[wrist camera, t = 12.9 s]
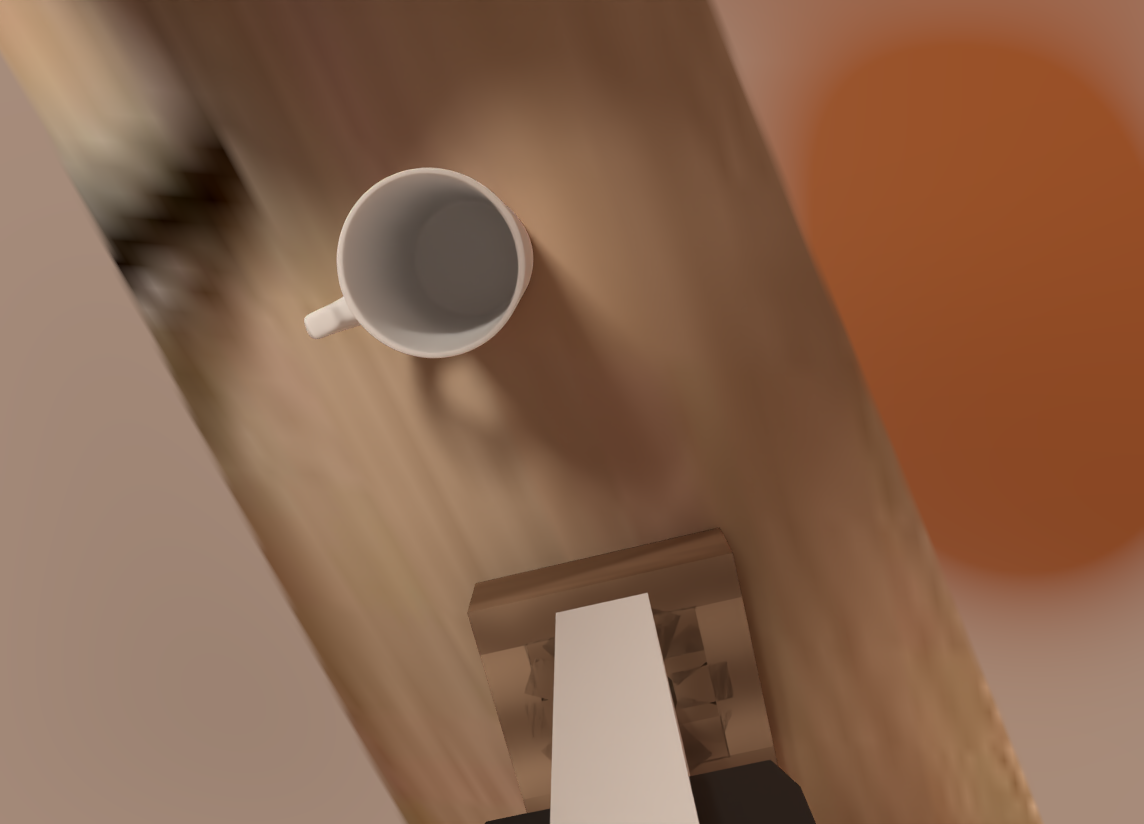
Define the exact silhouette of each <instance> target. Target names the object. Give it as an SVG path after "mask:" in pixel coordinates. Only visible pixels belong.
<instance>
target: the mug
mask: <svg viewBox="0 0 1144 824" xmlns="http://www.w3.org/2000/svg"><path fill="white" fill-rule="evenodd" d="M532 270H533V249H532V244H531V241H530V238H529V235H528V233H527V231H526V229H525V227H524V225H523V224H522V222H521V221H520V219H519V218H518V217H517V215H516V214H515V213H514V212H513V211H512V210H511V209H510V208H509V207H508V206H507V205H505V204H504V203H503V202H502V201H501V200H500V199H499V198H498V197H497V196H496V195H495V194H494V193H493V192H492V191H490V190H489V189H488V188H487V187H485V186H484V185H482V184H481V183H479V182H478V181H476V180H474V179H472V178H470V177H468V176H466V175H464V174H461V173H458V172H455V171H451V170H447V169H441V168H415V169H409V170H405V171H401V172H398V173H396V174H393V175H391V176H389V177H387V178H385V179H383V180H381V181H380V182H378V183H376V184H375V185H374V186H372V187H371V188H370V189H369V190H368V191H366V192H365V193H364V194H363V195H362V196H361V198H360V199H359V200H358V201H357V202H356V204H355V205H354V206H353V208H352V209H351V211H350V213H349V214H348V216H347V218H346V220H345V223H344V225H343V228H342V230H341V234H340V238H339V242H338V248H337V272H338V279H339V283H340V287H341V291H342V294H343V297H342V298H340V299H339V300H337V301H335V302H333V303H331V304H329V305H327V306H325V307H323V308H320V309H318V310H316V311H314V312H312V313H310V314H308V315H307V316H306V317H305V319H304V322H305V326H306V330H307V332H308V334H309V335H310V336H311V337H312V338H314V339H320V338H323V337H326V336H328V335H331V334H334V333H337V332H340V331H343V330H346V329H350V328H353V327H356V326H359V325H362V326H363V327H364V328H365V329H366V330H367V331H368V332H369V333H370V334H371V335H372V336H373V337H375V338H376V339H377V340H379V341H380V342H382V343H383V344H385V345H387V346H388V347H390V348H392V349H394V350H397V351H399V352H402V353H405V354H408V355H412V356H416V357H423V358H445V357H452V356H456V355H460V354H463V353H466V352H469V351H471V350H473V349H475V348H477V347H479V346H481V345H483V344H484V343H486V342H487V341H488V340H490V339H491V338H492V337H493V336H495V335H496V334H497V333H498V332H499V331H500V330H501V329H502V328H503V326H504V325H505V324H506V323H507V321H508V320H509V318H510V317H511V315H512V314H513V312H514V310H515V308H516V307H517V305H518V303H519V301H520V299H521V297H522V296H523V294H524V292H525V290H526V288H527V286H528V284H529V282H530V278H531V274H532Z"/></svg>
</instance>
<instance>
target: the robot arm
mask: <svg viewBox="0 0 1144 824" xmlns="http://www.w3.org/2000/svg"><path fill="white" fill-rule="evenodd" d="M485 824H816V823H815V821H814V818H813V816H812V813H811V811H810V809H809V806H808V804H807V801H806V799H805V797H804V794H803V792H802V790H801V787H800V786H799V785H798V784H797V783H796V782H794V781H793V780H792V779H791V778H790V777H789V776H788V775H787V774H786V773H785V772H783V771H782V770H781V769H780V768H779V767H778V766H777V765H776V764H775V763H774V762H773V761H771V760H766V761H761V762H756V763H751V764H747V765H742V766H737V767H732V768H727V769H723V770H718V771H713V772H708V773H703V774H699V775H694V776H690V773H689V768H688V764H687V760H686V755H685V751H684V746H683V742H682V738H681V733H680V729H679V725H678V720H677V716H676V712H675V708H674V703H673V699H672V695H671V691H670V686H669V682H668V678H667V674H666V669H665V665H664V661H663V656H662V652H661V648H660V644H659V639H658V635H657V631H656V627H655V622H654V618H653V614H652V610H651V605H650V601H649V597H648V593H644V594H640V595H635V596H630V597H626V598H621V599H617V600H612V601H608V602H603V603H599V604H594V605H590V606H585V607H581V608H576V609H572V610H567V611H562V612H558V613H556V625H555V661H554V698H553V735H552V771H551V808H550V809H545V810H540V811H535V812H530V813H526V814H521V815H516V816H511V817H506V818H502V819H497V820H492V821H487V822H486V823H485Z"/></svg>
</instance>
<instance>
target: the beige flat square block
mask: <svg viewBox="0 0 1144 824" xmlns="http://www.w3.org/2000/svg"><path fill="white" fill-rule="evenodd" d="M644 593H648V597H649V601H650V605H651V610H652V614H653V618H654V622H655V627H656V631H657V635H658V639H659V644H660V648H661V652H662V656H663V661H664V665H665V669H666V674H667V678H668V682H669V686H670V691H671V695H672V699H673V703H674V708H675V712H676V716H677V720H678V725H679V729H680V733H681V738H682V742H683V746H684V751H685V755H686V760H687V764H688V768H689V773H690V776H694V775H699V774H703V773H708V772H713V771H718V770H723V769H727V768H732V767H737V766H742V765H747V764H751V763H756V762H761V761H766V760H771V761H773V762H774V763H775V764H776V765H777V766H778V764H777V759H776V755H775V750H774V745H773V740H772V736H771V731H770V726H769V722H768V717H767V712H766V707H765V703H764V698H763V693H762V689H761V684H760V679H759V674H758V670H757V665H756V660H755V655H754V651H753V646H752V641H751V637H750V632H749V627H748V622H747V618H746V613H745V608H744V604H743V599H742V594H741V589H740V585H739V580H738V575H737V571H736V566H735V561H734V556H733V552H732V550H731V548H730V547H729V545H728V543H727V541H726V539H725V537H724V535H723V533H722V531H721V529H720V528H716V529H712V530H707V531H703V532H699V533H694V534H690V535H685V536H681V537H677V538H672V539H668V540H664V541H659V542H655V543H650V544H646V545H642V546H637V547H633V548H629V549H624V550H620V551H615V552H611V553H607V554H602V555H598V556H593V557H589V558H585V559H580V560H576V561H572V562H567V563H563V564H558V565H554V566H550V567H545V568H541V569H537V570H532V571H528V572H523V573H519V574H515V575H510V576H506V577H502V578H497V579H493V580H488V581H484V582H480V583H476V584H475V587H474V591H473V594H472V598H471V602H470V605H469V609H468V612H467V613H468V617H469V620H470V624H471V627H472V630H473V634H474V637H475V640H476V644H477V647H478V650H479V654H480V657H481V660H482V664H483V667H484V671H485V674H486V677H487V681H488V684H489V687H490V691H491V694H492V697H493V701H494V704H495V707H496V711H497V714H498V717H499V721H500V724H501V728H502V731H503V734H504V738H505V741H506V744H507V748H508V751H509V754H510V758H511V761H512V764H513V768H514V771H515V775H516V778H517V781H518V785H519V788H520V791H521V795H522V798H523V801H524V805H525V808H526V811H527V813H530V812H535V811H540V810H545V809H550V808H551V771H552V735H553V698H554V661H555V625H556V613H558V612H562V611H567V610H572V609H576V608H581V607H585V606H590V605H594V604H599V603H603V602H608V601H612V600H617V599H621V598H626V597H630V596H635V595H640V594H644Z"/></svg>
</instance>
